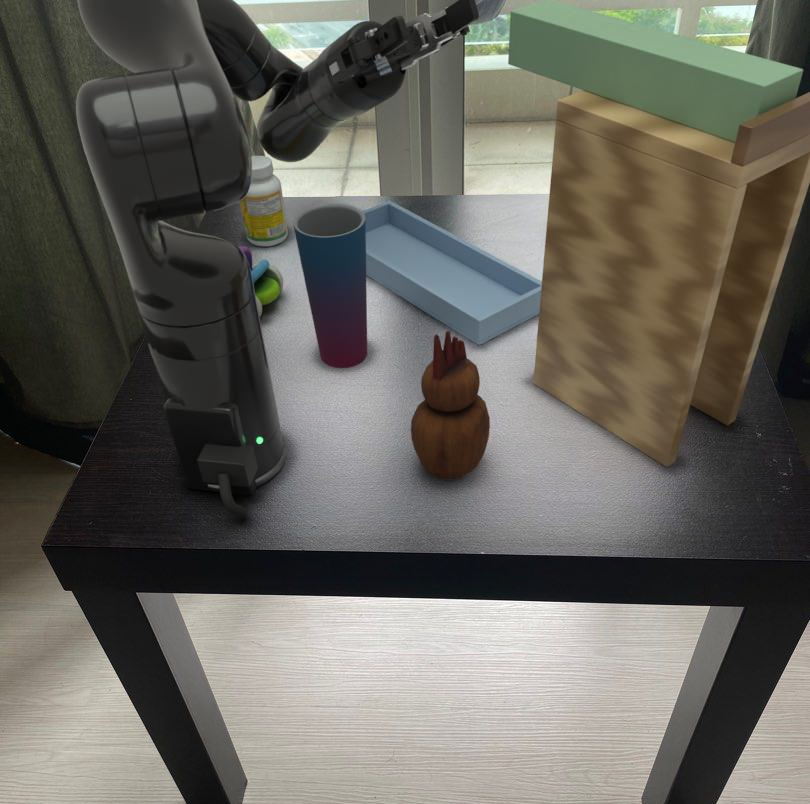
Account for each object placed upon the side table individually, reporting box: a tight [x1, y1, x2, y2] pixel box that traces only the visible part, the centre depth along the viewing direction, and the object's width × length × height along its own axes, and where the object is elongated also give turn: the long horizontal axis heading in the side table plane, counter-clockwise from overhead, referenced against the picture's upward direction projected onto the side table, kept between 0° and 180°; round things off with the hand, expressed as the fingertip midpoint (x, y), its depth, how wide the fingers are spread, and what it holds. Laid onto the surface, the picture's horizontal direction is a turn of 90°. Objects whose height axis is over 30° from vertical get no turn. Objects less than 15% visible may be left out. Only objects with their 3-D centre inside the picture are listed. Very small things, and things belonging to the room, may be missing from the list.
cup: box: [292, 202, 368, 369], centre depth 85 cm, size 7×7×15 cm
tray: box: [361, 200, 542, 346], centre depth 99 cm, size 28×10×3 cm, turn 39°
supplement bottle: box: [239, 155, 289, 247], centre depth 105 cm, size 5×5×10 cm
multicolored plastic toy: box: [238, 245, 284, 317], centre depth 95 cm, size 8×10×7 cm
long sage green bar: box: [507, 0, 804, 142], centre depth 64 cm, size 24×4×4 cm, turn 39°
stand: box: [532, 90, 810, 468], centre depth 72 cm, size 17×10×30 cm, turn 39°
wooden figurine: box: [410, 330, 491, 481], centre depth 72 cm, size 7×6×15 cm
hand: (439, 16), depth 78 cm, fingers open, 8 cm apart
